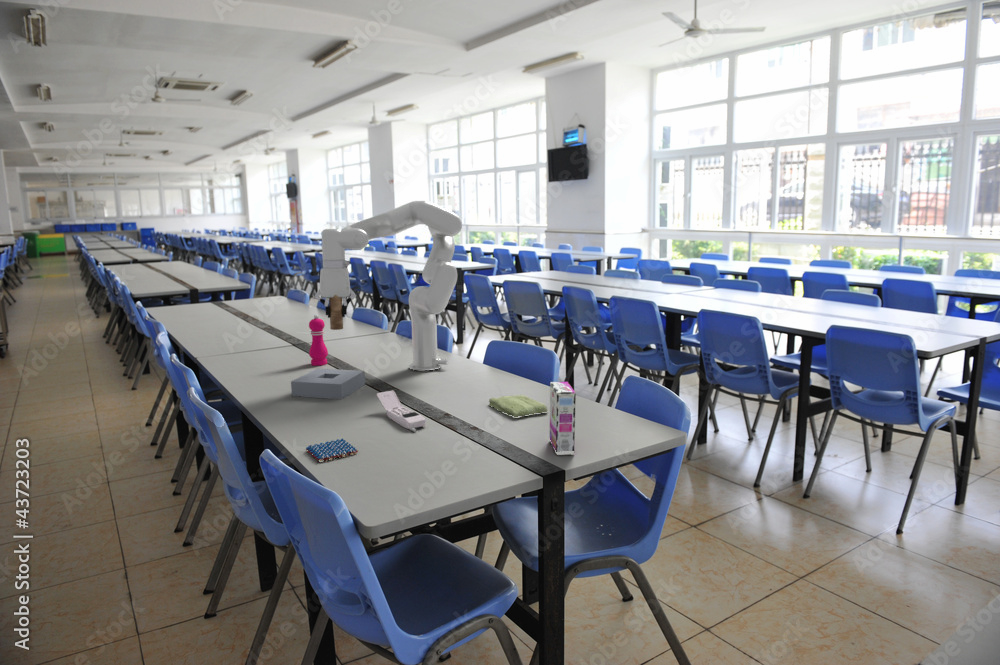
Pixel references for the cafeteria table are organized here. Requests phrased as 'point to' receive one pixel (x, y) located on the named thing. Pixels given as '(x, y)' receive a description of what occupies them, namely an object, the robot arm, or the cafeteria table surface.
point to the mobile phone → (400, 411)
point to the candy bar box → (562, 416)
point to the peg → (336, 313)
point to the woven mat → (331, 450)
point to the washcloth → (517, 405)
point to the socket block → (328, 383)
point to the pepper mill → (317, 342)
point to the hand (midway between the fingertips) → (336, 316)
